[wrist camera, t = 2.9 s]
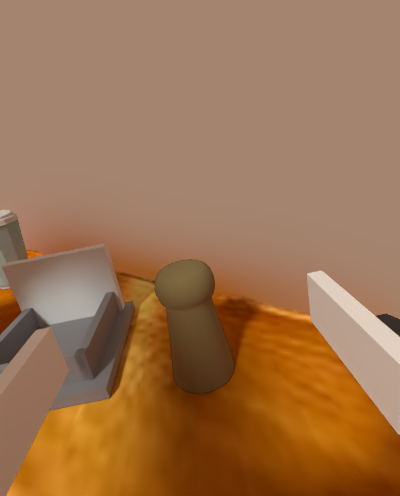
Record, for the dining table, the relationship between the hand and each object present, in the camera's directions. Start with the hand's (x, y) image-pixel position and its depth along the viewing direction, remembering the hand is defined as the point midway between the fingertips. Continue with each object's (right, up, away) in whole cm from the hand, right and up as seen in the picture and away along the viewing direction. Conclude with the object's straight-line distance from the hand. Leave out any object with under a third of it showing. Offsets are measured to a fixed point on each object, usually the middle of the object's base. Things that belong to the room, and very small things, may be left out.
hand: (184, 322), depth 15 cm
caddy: (-15, -9, +19) cm, 26 cm away
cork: (+1, -8, +14) cm, 16 cm away
